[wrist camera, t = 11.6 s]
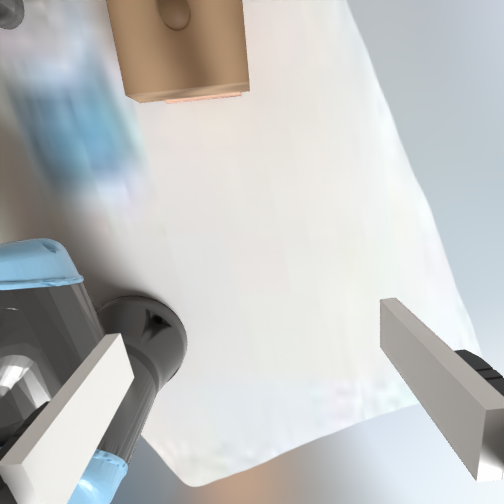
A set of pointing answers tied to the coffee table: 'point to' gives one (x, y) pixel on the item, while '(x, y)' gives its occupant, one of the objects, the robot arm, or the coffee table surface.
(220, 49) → the lid
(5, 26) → the beverage cup
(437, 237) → the coffee table surface
